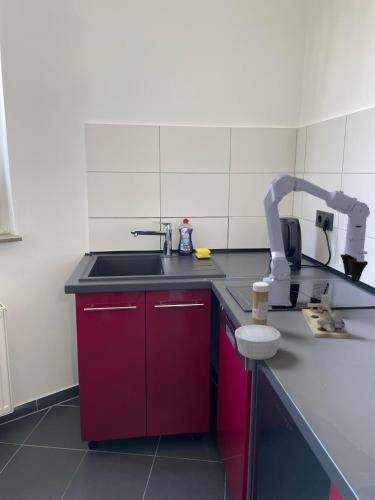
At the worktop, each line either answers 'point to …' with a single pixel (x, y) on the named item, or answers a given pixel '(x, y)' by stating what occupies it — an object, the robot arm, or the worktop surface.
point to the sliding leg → (321, 304)
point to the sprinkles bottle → (260, 303)
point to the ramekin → (257, 341)
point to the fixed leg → (334, 321)
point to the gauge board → (326, 331)
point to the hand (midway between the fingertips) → (351, 278)
